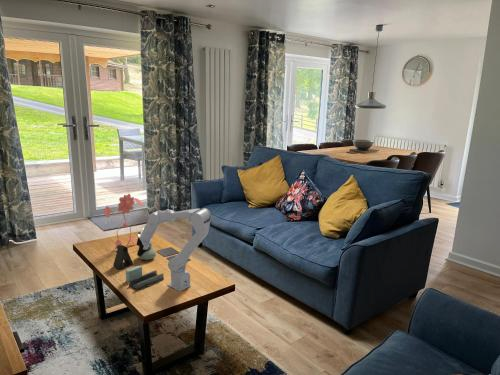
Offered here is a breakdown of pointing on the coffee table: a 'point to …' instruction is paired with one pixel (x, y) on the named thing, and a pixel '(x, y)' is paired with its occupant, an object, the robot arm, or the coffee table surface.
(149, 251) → the air freshener
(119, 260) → the phone stand
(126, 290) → the coffee table surface
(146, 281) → the floor track
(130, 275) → the door panel
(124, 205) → the figurine
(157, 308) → the coffee table surface
